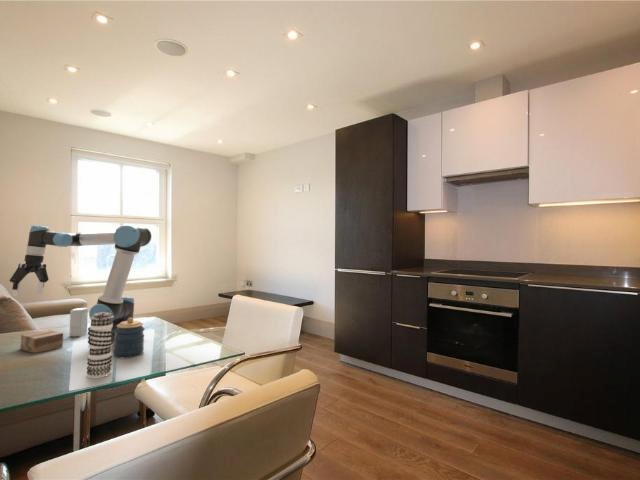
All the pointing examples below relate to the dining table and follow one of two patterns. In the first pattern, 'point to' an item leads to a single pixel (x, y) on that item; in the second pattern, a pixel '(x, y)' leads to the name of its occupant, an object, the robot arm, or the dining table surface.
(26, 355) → the dining table surface
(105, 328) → the decorative candle
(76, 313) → the skincare box
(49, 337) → the walnut block
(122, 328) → the canister
